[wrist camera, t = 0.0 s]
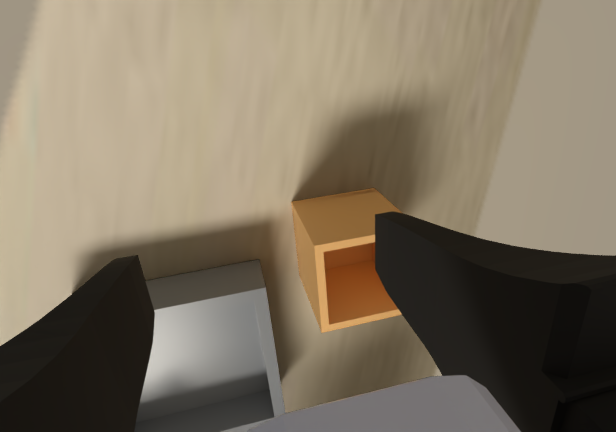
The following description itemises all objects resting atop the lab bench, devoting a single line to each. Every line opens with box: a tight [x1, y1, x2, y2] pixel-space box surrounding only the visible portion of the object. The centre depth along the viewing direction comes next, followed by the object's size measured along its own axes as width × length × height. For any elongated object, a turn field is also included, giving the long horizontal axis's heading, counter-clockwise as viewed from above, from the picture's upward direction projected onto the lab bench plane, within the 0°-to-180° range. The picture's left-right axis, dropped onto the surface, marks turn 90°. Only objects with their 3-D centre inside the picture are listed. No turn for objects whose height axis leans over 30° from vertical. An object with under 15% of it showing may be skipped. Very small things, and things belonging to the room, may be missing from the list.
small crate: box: [291, 188, 402, 333], centre depth 22 cm, size 5×5×6 cm
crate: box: [134, 259, 285, 432], centre depth 23 cm, size 10×10×3 cm
